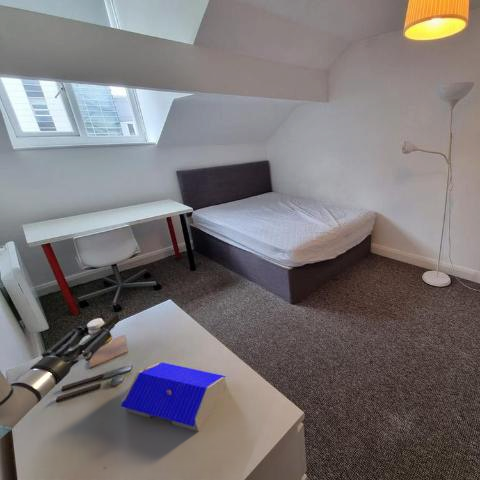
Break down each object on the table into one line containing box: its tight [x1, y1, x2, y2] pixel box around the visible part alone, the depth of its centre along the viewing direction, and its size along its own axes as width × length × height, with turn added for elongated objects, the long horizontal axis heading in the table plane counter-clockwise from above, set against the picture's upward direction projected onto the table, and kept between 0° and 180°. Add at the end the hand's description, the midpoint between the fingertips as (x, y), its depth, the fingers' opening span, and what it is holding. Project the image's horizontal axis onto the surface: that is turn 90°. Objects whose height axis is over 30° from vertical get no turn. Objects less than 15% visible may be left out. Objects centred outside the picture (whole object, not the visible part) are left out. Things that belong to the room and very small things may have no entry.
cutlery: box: [55, 364, 133, 403], centre depth 78 cm, size 17×6×1 cm, turn 113°
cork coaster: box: [88, 334, 129, 369], centre depth 90 cm, size 10×10×1 cm
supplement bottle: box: [86, 318, 114, 347], centre depth 86 cm, size 5×5×8 cm
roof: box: [120, 362, 228, 432], centre depth 72 cm, size 22×14×7 cm, turn 76°
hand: (109, 317), depth 90 cm, fingers closed on supplement bottle, 5 cm apart
